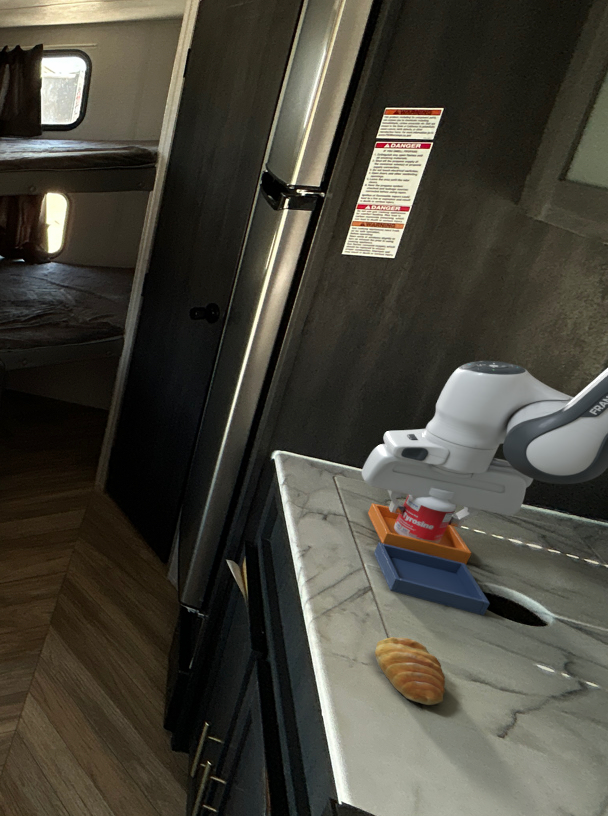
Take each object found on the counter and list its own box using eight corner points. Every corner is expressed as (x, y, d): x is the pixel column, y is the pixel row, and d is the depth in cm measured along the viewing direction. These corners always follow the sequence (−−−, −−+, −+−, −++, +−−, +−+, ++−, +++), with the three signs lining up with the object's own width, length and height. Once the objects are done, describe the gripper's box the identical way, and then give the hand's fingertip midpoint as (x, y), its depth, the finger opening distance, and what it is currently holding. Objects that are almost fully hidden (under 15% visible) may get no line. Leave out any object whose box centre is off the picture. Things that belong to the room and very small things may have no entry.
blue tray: (458, 574, 105) (464, 563, 104) (483, 615, 97) (490, 603, 96) (373, 553, 110) (378, 542, 109) (390, 590, 101) (395, 578, 100)
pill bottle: (384, 529, 115) (407, 478, 111) (406, 522, 117) (429, 471, 113) (424, 550, 110) (449, 497, 105) (447, 543, 112) (472, 490, 107)
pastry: (455, 718, 80) (467, 697, 79) (388, 698, 83) (398, 677, 82) (427, 663, 88) (437, 643, 87) (367, 646, 91) (376, 627, 90)
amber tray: (444, 531, 115) (450, 520, 114) (466, 564, 107) (471, 553, 106) (367, 513, 120) (372, 502, 119) (382, 544, 112) (387, 533, 111)
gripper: (530, 457, 105) (495, 525, 110) (374, 429, 113) (348, 493, 119) (548, 476, 99) (510, 546, 105) (383, 445, 108) (356, 511, 114)
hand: (423, 518), depth 112 cm, fingers open, 7 cm apart
